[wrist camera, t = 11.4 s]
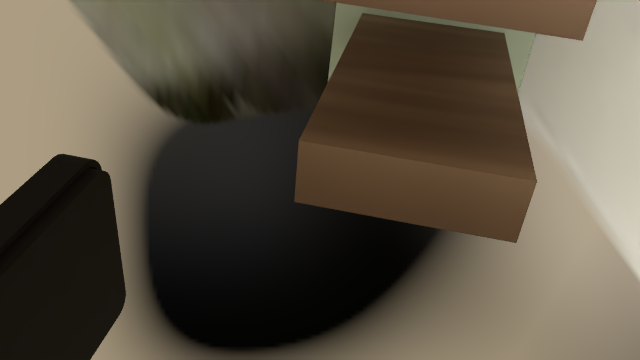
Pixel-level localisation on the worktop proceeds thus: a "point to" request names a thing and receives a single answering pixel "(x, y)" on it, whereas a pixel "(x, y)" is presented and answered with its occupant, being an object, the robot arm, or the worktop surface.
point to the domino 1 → (499, 13)
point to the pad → (350, 15)
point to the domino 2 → (420, 131)
